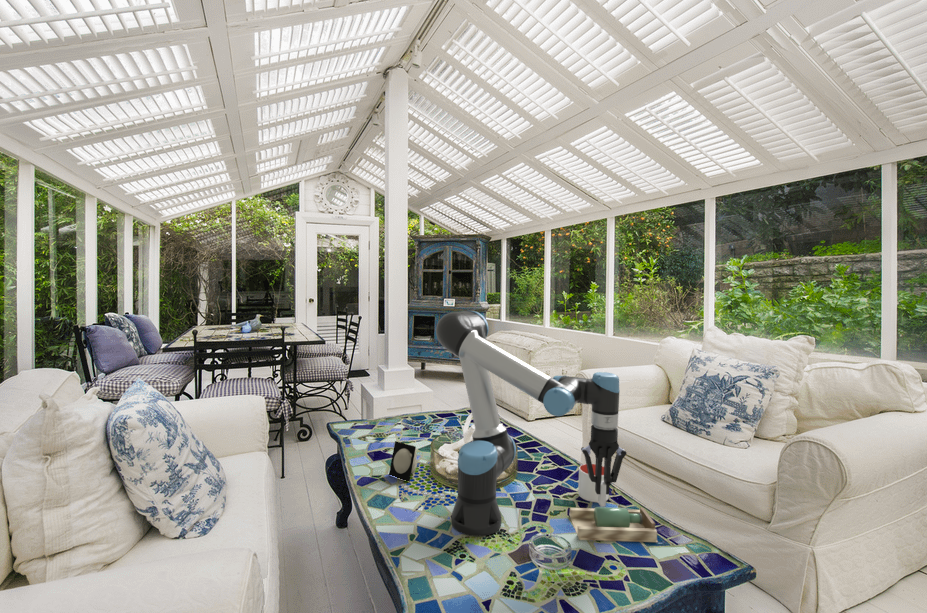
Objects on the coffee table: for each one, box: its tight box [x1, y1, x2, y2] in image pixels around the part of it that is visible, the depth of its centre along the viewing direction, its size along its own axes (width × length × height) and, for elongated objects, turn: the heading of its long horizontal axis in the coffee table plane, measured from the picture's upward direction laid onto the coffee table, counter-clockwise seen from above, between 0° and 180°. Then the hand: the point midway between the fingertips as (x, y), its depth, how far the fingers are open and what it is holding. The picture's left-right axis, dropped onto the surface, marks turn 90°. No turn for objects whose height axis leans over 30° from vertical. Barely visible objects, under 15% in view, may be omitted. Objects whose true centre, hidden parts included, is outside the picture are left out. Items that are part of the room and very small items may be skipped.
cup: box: [577, 463, 610, 503], centre depth 153 cm, size 10×10×10 cm
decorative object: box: [388, 440, 418, 483], centre depth 168 cm, size 13×10×10 cm
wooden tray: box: [568, 507, 659, 543], centre depth 133 cm, size 22×14×5 cm, turn 89°
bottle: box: [594, 506, 643, 528], centre depth 133 cm, size 5×5×13 cm
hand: (601, 504), depth 133 cm, fingers closed
